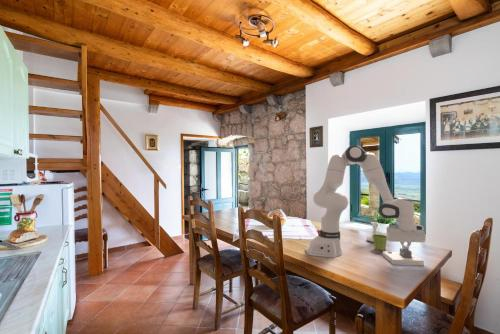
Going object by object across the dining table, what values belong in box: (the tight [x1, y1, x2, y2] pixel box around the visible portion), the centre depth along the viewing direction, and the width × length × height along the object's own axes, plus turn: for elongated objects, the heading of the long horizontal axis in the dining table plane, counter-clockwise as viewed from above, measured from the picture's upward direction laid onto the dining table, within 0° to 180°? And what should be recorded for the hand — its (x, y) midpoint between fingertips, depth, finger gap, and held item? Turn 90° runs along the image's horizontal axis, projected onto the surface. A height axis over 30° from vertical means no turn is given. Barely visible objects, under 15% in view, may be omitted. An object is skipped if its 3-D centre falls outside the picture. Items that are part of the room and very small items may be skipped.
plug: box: [399, 248, 413, 258], centre depth 143 cm, size 4×5×6 cm
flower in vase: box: [363, 207, 379, 243], centre depth 179 cm, size 13×11×25 cm
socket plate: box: [382, 250, 425, 266], centre depth 143 cm, size 16×14×3 cm
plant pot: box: [372, 233, 388, 251], centre depth 163 cm, size 9×9×9 cm
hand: (405, 249), depth 143 cm, fingers closed, pressing on plug
